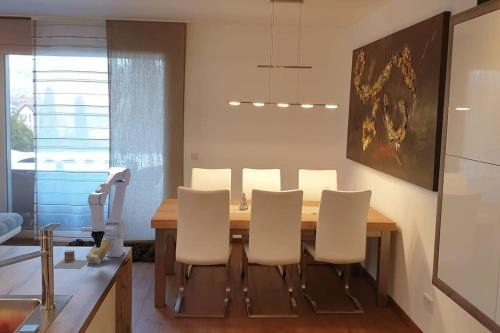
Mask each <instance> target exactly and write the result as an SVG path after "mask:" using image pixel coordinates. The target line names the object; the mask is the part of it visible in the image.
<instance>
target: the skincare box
mask: <svg viewBox="0 0 500 333" xmlns="http://www.w3.org/2000/svg"><path fill="white" fill-rule="evenodd" d="M111 248H112V245H111V242H110V241H108V240H107V239H102V242H101V247H100V248H96V244H95V243H94V246H93V247H92V248H91V249H90V250H89V251H88V253H87V254H86V255H85V259H86V260H87V261H88V262H87V263H89V264H96V265H100V264H101V262H102V261H103V259H104V258H106V257H105V256H106V254H107V253H108V252H109V251H110V249H111Z"/></svg>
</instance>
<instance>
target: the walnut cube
mask: <svg viewBox="0 0 500 333" xmlns="http://www.w3.org/2000/svg"><path fill="white" fill-rule="evenodd" d="M63 255H64V258H63V260H64V261H65V260H75V250H74V249H70V250H65V251H64V254H63Z"/></svg>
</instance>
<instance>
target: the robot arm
mask: <svg viewBox="0 0 500 333" xmlns="http://www.w3.org/2000/svg"><path fill="white" fill-rule="evenodd" d="M131 176H132V174H131V169H130V168H129V167H116V166H115V167H114V166H113V167H112V166H110V167H109V168H108V170H107V177H106V179H105V181H104V182H101V183H99V185H98V186H97V188H96V189H95V190H94V192H91V193H89V195H88V197H87V198H88V199H87V203H88V205H89V206H88V207H89V209H90V222H91V224H90V226H82V227H81V233H90V236H91V237H92V239H93V242H94V245H95V244H96V248H100V247H101V242H102V240H103V239H104V238H105V239H106V240H108V241H110V242H111V245H112V248H111V249H110V251H109V252H108V253H107V254H106V256H105V257H104V258H106V257H107V258H120V257H122V255H124V254H125V253H126V250H124V239H123V237H124V236H125V234H126V223H125V221H124V220H123V219H122V214H123V213H122V212H123V206H124V202H125V195H126V191H127V190H126V189H127V187H128V186H129V185H130V182H131ZM112 186H114V187H115V190H114V197H113V201H112V207H111V212H110V217H109V218H107V219H106V220H105V208H104V207H105V205H106V203H107V198H108V196H109V194H110V192H111V190H112Z"/></svg>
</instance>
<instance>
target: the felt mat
mask: <svg viewBox="0 0 500 333" xmlns="http://www.w3.org/2000/svg"><path fill="white" fill-rule="evenodd" d="M87 263H88V261H87V259H74V260H65V261H64V259H62V260H60V261H59V262H57V264H55V265H54V266H53V267H54V268H53V269H67V270H68V269H69V270H70V269H74V270H75V269H77V270H80V269H82V268H83V267H84V266H85V265H86V264H87Z"/></svg>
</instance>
